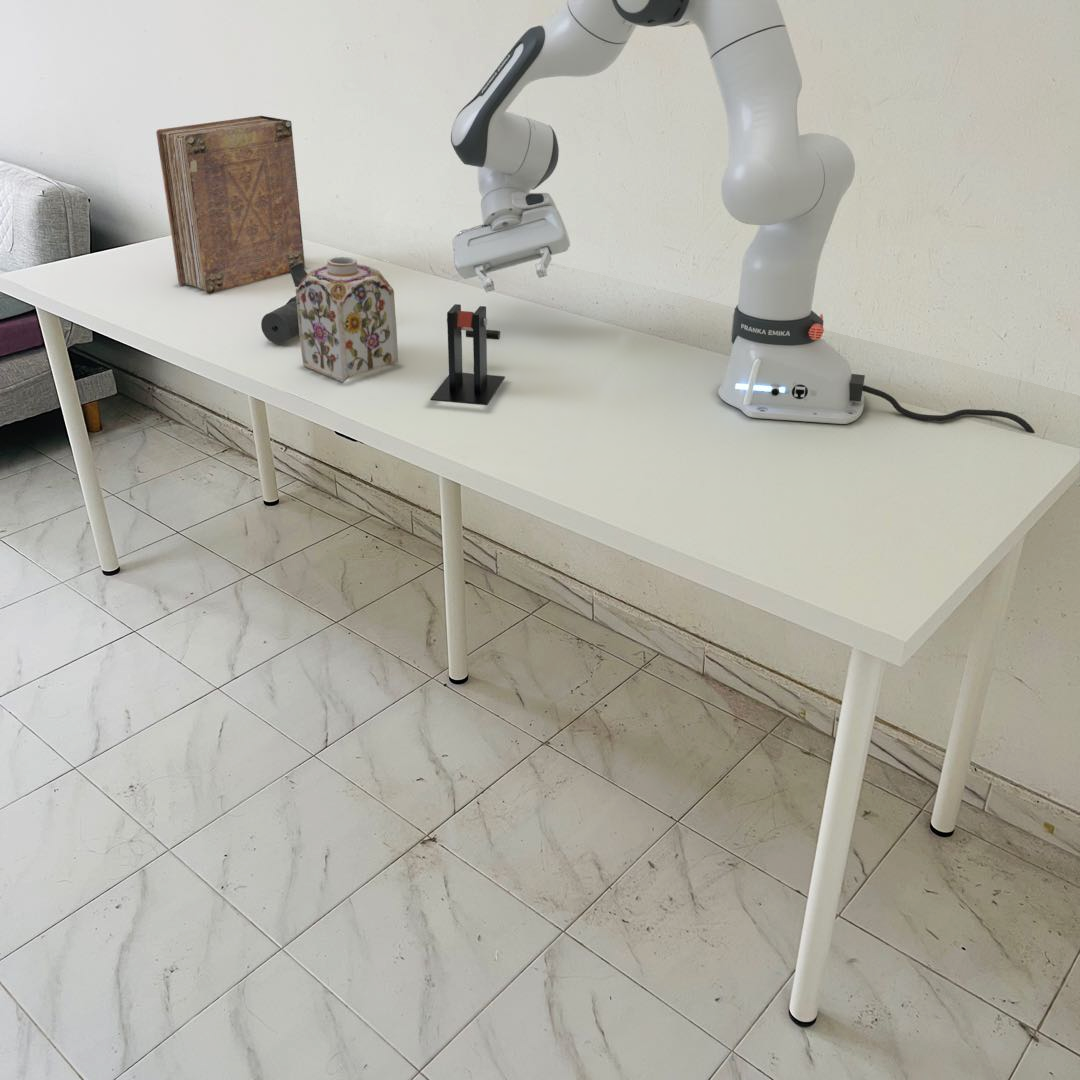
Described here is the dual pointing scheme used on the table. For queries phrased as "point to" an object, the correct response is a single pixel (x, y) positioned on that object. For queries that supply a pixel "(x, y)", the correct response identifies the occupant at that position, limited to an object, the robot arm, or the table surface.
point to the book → (231, 201)
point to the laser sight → (284, 314)
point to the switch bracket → (458, 383)
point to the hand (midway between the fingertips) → (515, 282)
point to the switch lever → (467, 324)
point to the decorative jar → (346, 319)
